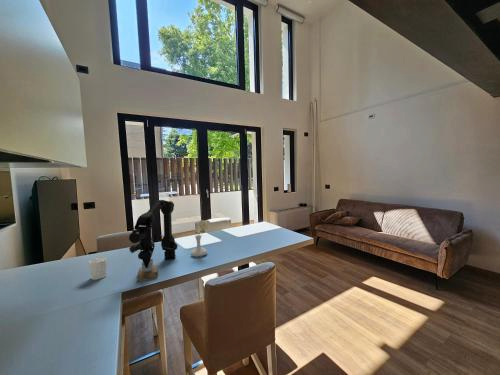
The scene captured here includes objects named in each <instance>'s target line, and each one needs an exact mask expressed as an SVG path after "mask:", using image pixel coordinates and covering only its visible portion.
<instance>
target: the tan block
mask: <svg viewBox="0 0 500 375" xmlns="http://www.w3.org/2000/svg"><path fill="white" fill-rule="evenodd" d="M136 276H137V282H141V281H146V280H152V279H157V278H158V277H159V264H153V269H152V271H147V272H142V266H140V267H138V271H137V274H136Z"/></svg>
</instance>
